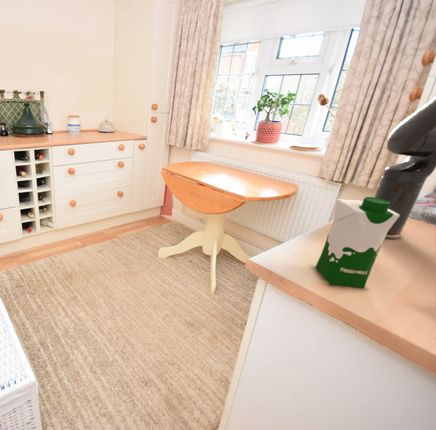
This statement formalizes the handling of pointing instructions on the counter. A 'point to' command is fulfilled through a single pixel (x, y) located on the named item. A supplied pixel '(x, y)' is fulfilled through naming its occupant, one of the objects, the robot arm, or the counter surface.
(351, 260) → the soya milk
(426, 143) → the robot arm
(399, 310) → the counter surface
